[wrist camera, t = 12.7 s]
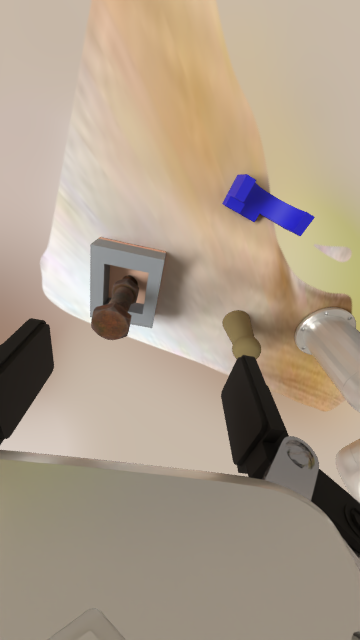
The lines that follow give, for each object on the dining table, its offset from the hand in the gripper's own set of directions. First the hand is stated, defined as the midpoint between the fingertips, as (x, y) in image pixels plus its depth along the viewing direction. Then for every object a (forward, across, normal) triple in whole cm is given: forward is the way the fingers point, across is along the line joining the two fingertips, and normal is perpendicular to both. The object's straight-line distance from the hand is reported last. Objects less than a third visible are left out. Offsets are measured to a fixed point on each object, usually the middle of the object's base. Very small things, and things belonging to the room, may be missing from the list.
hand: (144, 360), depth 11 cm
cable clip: (+34, -14, -6) cm, 37 cm away
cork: (+34, -18, +16) cm, 41 cm away
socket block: (+33, +6, +11) cm, 36 cm away
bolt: (+32, +6, +11) cm, 35 cm away
